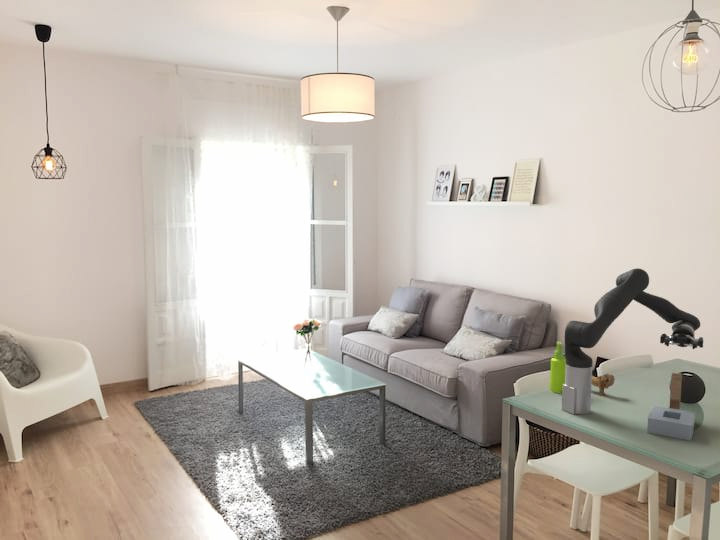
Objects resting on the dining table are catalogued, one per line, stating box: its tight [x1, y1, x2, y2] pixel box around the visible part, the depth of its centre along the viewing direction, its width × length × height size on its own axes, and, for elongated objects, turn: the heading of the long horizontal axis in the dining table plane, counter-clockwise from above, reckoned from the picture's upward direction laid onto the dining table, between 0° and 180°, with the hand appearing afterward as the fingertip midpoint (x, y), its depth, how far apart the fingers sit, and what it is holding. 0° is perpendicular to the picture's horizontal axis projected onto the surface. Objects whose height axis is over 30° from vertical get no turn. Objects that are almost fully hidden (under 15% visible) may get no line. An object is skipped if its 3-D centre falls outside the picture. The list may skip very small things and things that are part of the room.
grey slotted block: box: [646, 404, 696, 441], centre depth 205 cm, size 15×13×5 cm
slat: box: [668, 372, 683, 410], centre depth 214 cm, size 5×3×16 cm, turn 148°
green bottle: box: [549, 341, 566, 394], centre depth 246 cm, size 6×7×20 cm
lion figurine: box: [591, 373, 616, 397], centre depth 244 cm, size 15×5×9 cm, turn 44°
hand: (680, 345), depth 222 cm, fingers open, 8 cm apart
